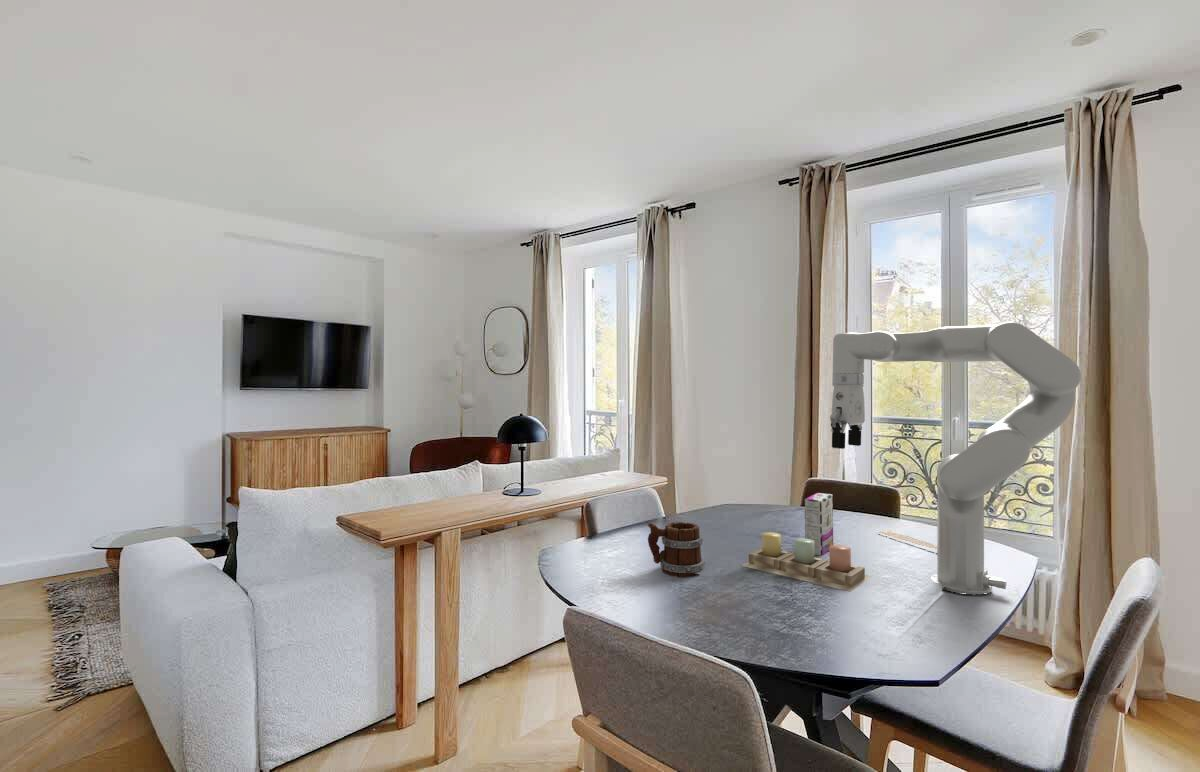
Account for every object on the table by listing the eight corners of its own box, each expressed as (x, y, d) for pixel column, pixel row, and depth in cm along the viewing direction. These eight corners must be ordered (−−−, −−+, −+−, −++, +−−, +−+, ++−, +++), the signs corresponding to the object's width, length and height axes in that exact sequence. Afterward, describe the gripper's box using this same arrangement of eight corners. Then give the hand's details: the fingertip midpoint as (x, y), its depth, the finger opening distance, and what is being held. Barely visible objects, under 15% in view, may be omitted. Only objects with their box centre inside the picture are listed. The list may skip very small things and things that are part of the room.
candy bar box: (816, 547, 175) (816, 492, 175) (833, 550, 172) (833, 494, 172) (803, 556, 166) (803, 498, 166) (822, 560, 163) (822, 500, 163)
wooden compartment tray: (871, 581, 146) (871, 565, 146) (850, 596, 135) (850, 579, 135) (766, 558, 165) (766, 544, 165) (741, 570, 155) (741, 555, 155)
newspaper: (877, 536, 189) (877, 530, 189) (895, 534, 191) (895, 529, 191) (938, 557, 167) (938, 551, 167) (958, 555, 169) (958, 549, 169)
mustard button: (784, 553, 156) (784, 534, 156) (775, 557, 153) (775, 538, 153) (767, 549, 160) (767, 531, 160) (758, 553, 156) (758, 534, 156)
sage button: (817, 560, 150) (817, 540, 150) (809, 564, 147) (809, 544, 147) (799, 556, 153) (799, 537, 153) (791, 560, 150) (791, 541, 150)
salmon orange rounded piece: (853, 567, 144) (853, 547, 144) (846, 572, 141) (846, 551, 140) (834, 563, 147) (834, 543, 147) (826, 568, 144) (826, 547, 144)
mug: (715, 575, 150) (705, 517, 149) (661, 588, 147) (650, 530, 147) (700, 561, 161) (690, 508, 161) (650, 573, 159) (640, 519, 158)
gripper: (848, 381, 144) (846, 450, 145) (875, 381, 157) (874, 445, 157) (818, 380, 150) (817, 447, 150) (847, 380, 162) (846, 443, 162)
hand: (846, 446), depth 154 cm, fingers open, 9 cm apart
